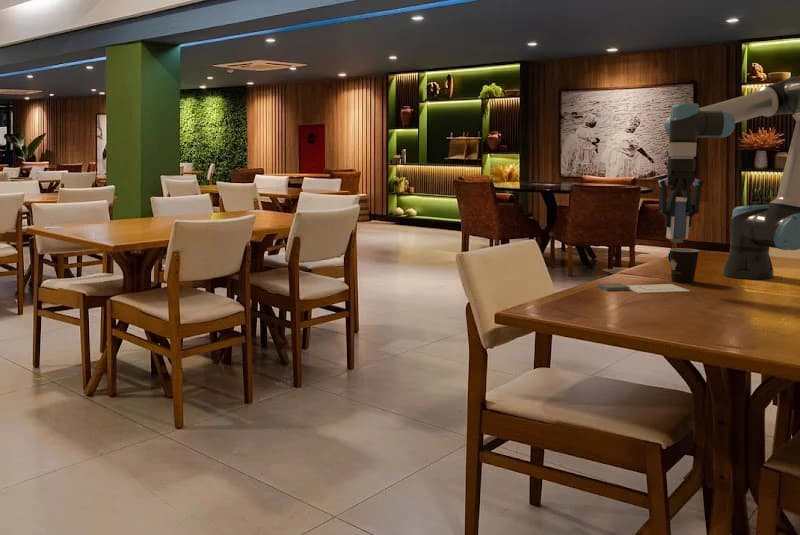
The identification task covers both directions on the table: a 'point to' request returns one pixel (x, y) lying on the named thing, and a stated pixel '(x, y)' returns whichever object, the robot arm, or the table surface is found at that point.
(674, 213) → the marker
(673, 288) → the paper
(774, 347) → the table surface
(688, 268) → the coffee mug
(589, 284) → the table surface
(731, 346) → the table surface
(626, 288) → the coaster
